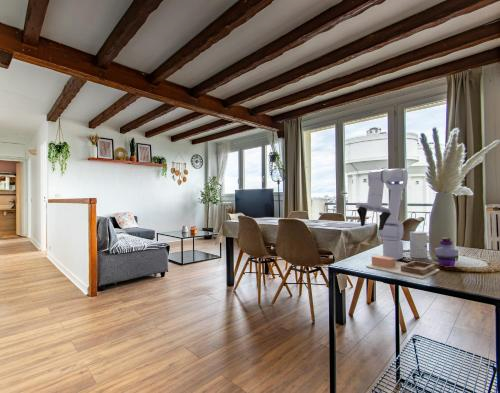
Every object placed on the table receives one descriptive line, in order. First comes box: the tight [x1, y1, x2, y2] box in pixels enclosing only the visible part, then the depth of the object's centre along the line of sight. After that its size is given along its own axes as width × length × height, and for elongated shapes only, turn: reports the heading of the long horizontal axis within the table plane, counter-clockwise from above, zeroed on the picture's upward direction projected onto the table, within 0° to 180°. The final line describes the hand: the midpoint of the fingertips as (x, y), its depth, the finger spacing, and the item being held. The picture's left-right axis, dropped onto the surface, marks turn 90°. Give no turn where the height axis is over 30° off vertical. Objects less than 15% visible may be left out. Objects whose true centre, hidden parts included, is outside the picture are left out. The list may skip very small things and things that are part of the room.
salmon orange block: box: [371, 254, 397, 268], centre depth 118 cm, size 4×8×4 cm, turn 37°
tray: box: [401, 260, 437, 276], centre depth 109 cm, size 12×8×2 cm, turn 127°
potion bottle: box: [434, 236, 459, 267], centre depth 115 cm, size 9×9×12 cm
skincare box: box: [409, 230, 428, 259], centre depth 131 cm, size 6×4×12 cm
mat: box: [365, 261, 440, 280], centre depth 114 cm, size 16×22×1 cm
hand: (371, 227), depth 114 cm, fingers open, 7 cm apart
